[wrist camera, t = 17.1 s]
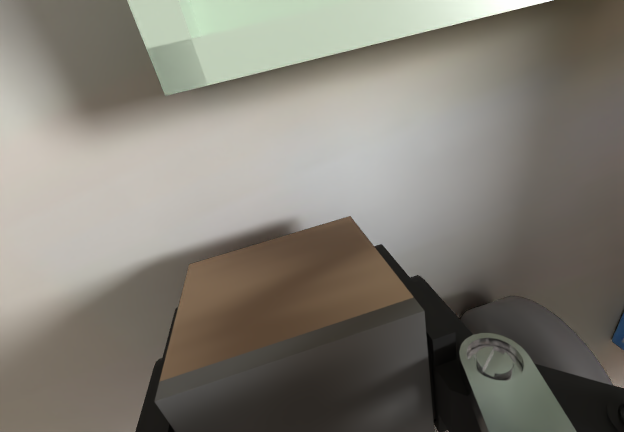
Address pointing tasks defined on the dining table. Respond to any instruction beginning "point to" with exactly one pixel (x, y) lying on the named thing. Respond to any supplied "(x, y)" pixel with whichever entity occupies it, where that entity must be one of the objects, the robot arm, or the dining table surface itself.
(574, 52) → the dining table surface
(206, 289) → the block
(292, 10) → the tray
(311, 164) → the dining table surface
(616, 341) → the stack of blocks
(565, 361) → the cart
